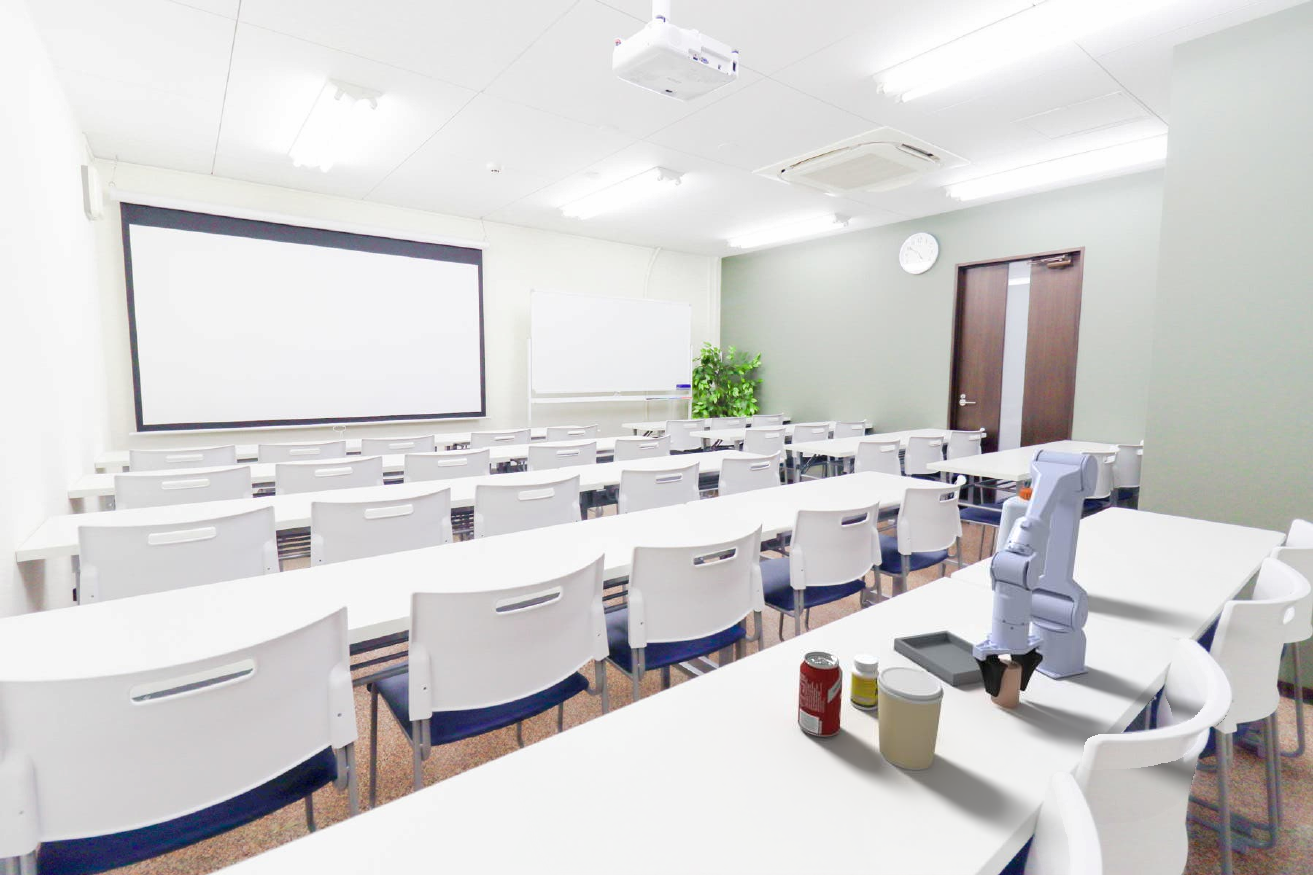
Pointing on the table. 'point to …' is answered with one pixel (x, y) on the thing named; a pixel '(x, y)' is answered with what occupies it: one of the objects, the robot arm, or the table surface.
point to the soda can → (820, 694)
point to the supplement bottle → (864, 682)
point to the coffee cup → (908, 716)
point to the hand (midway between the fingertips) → (1005, 691)
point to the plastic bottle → (1010, 513)
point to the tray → (942, 656)
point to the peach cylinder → (1009, 686)
